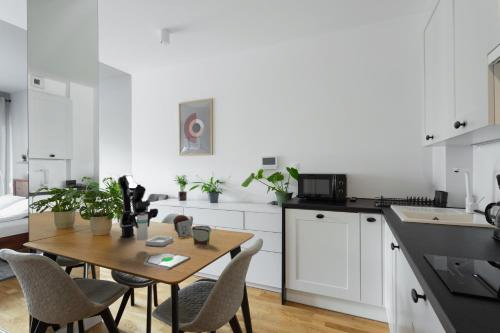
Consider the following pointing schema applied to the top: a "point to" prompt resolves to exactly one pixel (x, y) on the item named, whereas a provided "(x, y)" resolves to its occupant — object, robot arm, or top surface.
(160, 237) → the tray
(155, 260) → the white flat slab
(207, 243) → the food container
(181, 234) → the electrical switch
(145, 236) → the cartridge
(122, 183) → the robot arm
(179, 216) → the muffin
